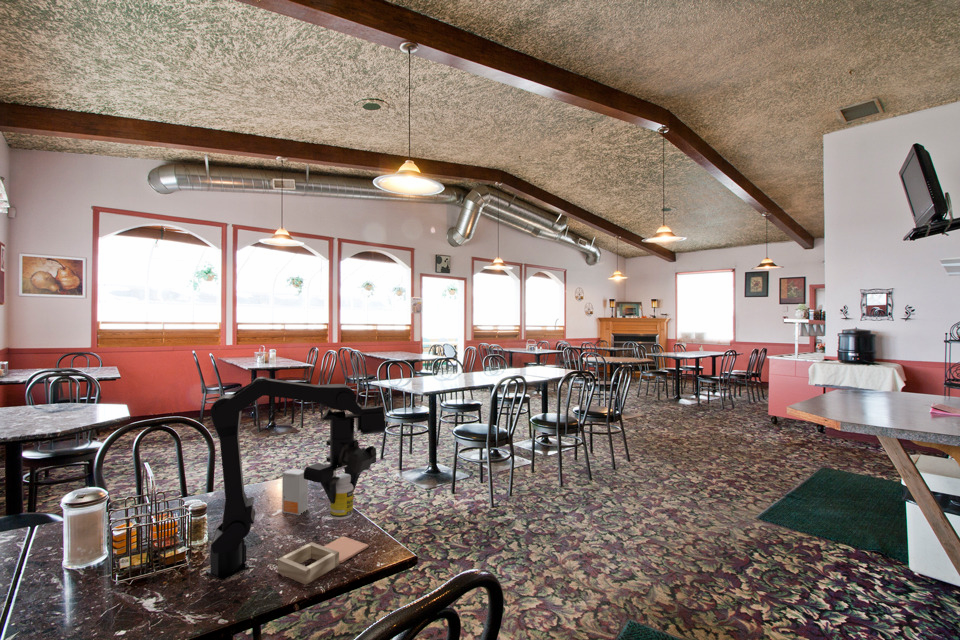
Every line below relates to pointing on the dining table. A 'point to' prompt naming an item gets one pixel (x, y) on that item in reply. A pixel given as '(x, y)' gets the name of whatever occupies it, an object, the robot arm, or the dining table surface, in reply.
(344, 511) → the supplement bottle
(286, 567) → the pocket block
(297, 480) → the skincare box
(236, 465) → the robot arm
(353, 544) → the tile
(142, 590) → the dining table surface
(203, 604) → the dining table surface
